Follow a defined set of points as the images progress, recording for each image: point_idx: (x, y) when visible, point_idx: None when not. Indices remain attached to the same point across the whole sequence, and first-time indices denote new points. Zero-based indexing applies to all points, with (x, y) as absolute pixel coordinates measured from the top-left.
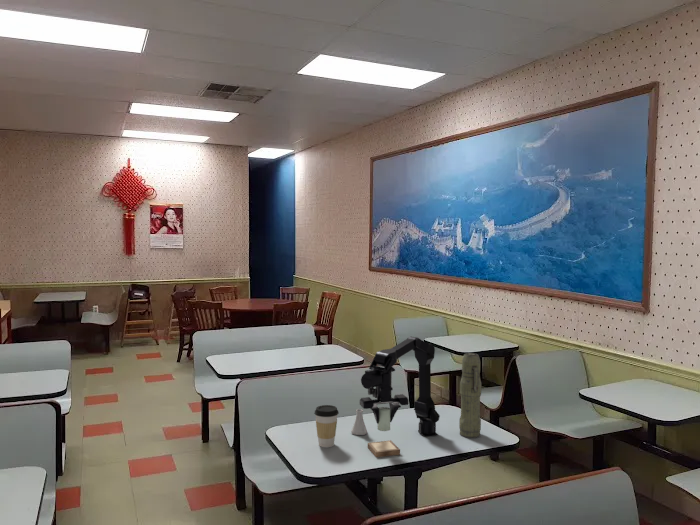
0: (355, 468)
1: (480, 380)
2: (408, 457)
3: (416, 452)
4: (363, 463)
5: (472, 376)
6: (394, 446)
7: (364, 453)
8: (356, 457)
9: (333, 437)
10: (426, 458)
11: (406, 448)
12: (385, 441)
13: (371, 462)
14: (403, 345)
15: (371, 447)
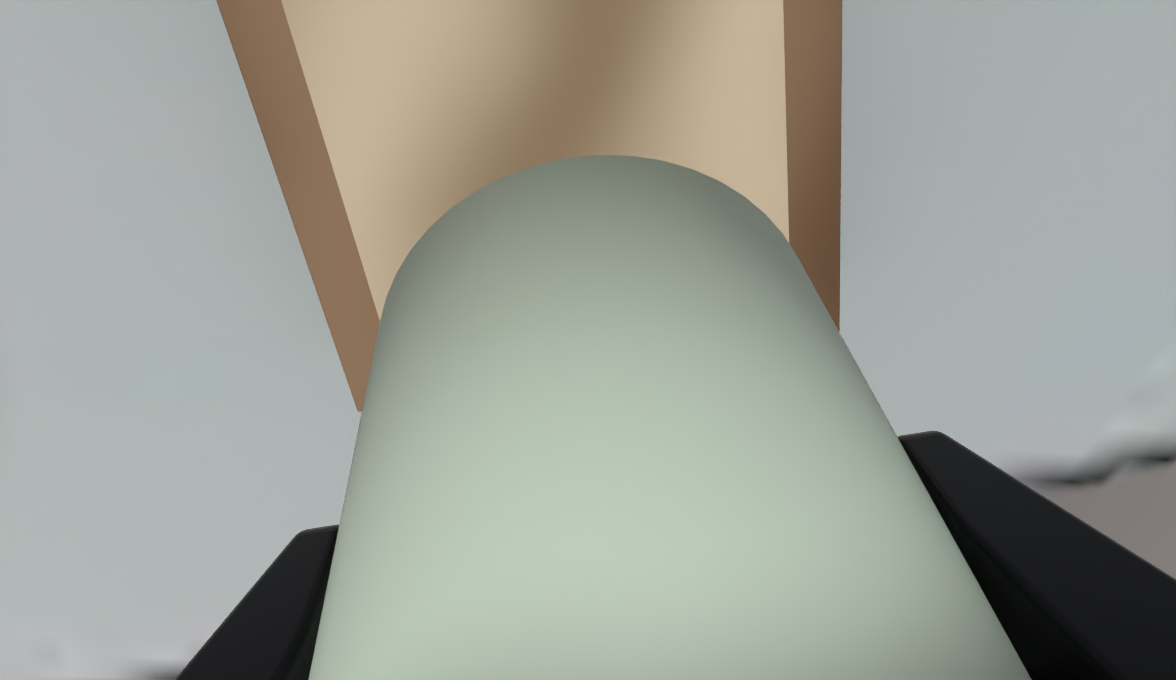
0: (51, 641)
1: None
2: (899, 391)
3: (1127, 224)
4: (158, 525)
5: None
6: (787, 188)
7: (152, 171)
8: (9, 326)
9: None
10: (1135, 439)
11: (1057, 17)
12: None
13: (285, 504)
14: None
15: (278, 175)
